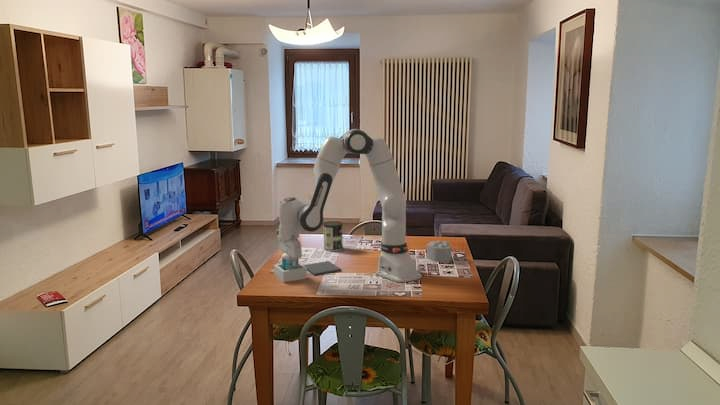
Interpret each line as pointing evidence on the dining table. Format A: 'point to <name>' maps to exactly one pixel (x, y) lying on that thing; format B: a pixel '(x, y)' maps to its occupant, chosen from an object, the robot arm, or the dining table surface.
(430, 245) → the grey bumpy block
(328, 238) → the coffee can
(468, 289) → the dining table surface
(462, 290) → the dining table surface
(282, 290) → the dining table surface
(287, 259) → the pill bottle
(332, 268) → the mat
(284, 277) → the holder
